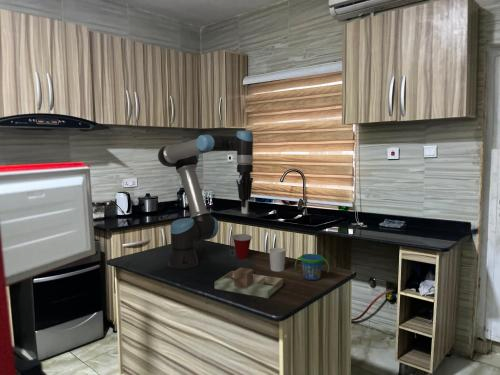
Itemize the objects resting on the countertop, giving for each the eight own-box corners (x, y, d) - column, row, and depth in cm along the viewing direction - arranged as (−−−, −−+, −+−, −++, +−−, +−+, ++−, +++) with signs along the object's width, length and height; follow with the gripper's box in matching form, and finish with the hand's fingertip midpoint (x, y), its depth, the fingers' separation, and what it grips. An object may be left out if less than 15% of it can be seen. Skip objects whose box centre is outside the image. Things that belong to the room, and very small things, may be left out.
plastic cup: (237, 261, 201) (237, 239, 200) (229, 256, 211) (229, 235, 209) (255, 258, 206) (255, 237, 205) (246, 253, 216) (246, 233, 214)
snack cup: (330, 276, 177) (331, 255, 176) (326, 284, 167) (327, 261, 166) (298, 272, 183) (298, 252, 182) (292, 279, 173) (292, 258, 172)
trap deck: (214, 288, 163) (214, 281, 162) (232, 277, 177) (232, 270, 177) (268, 298, 152) (268, 291, 152) (282, 285, 166) (282, 278, 166)
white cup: (284, 272, 183) (284, 252, 182) (268, 271, 184) (268, 251, 183) (286, 267, 191) (286, 248, 190) (270, 266, 192) (270, 247, 191)
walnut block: (234, 285, 158) (233, 271, 157) (240, 281, 163) (240, 267, 163) (247, 287, 155) (247, 273, 155) (253, 283, 161) (253, 269, 160)
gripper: (245, 164, 171) (245, 216, 174) (258, 163, 182) (257, 211, 185) (231, 164, 174) (231, 215, 177) (244, 163, 186) (244, 210, 188)
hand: (244, 213), depth 181 cm, fingers closed
